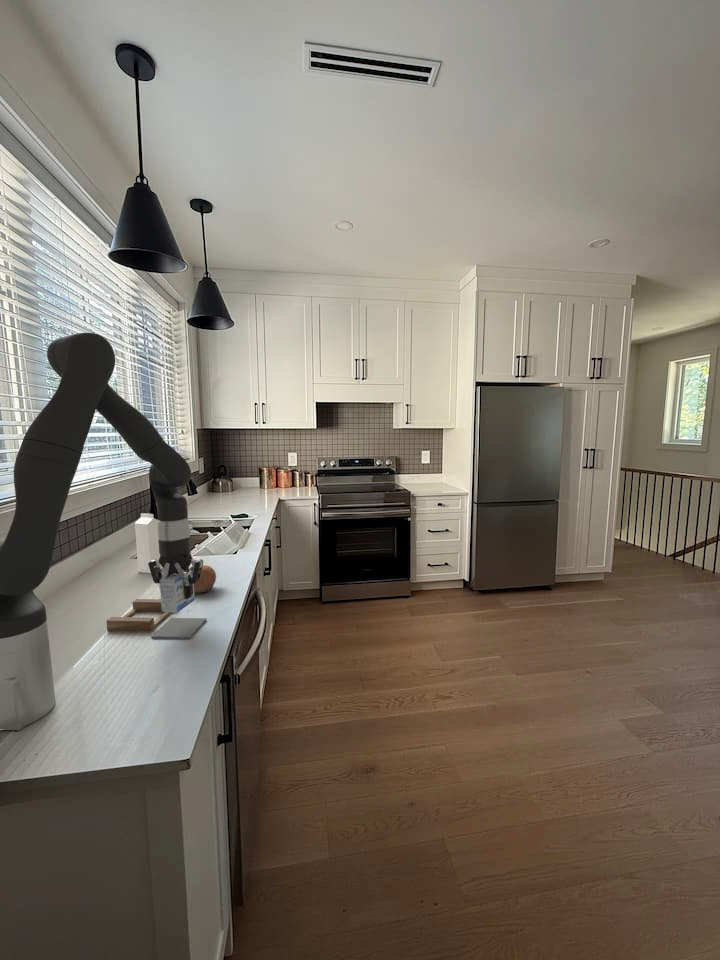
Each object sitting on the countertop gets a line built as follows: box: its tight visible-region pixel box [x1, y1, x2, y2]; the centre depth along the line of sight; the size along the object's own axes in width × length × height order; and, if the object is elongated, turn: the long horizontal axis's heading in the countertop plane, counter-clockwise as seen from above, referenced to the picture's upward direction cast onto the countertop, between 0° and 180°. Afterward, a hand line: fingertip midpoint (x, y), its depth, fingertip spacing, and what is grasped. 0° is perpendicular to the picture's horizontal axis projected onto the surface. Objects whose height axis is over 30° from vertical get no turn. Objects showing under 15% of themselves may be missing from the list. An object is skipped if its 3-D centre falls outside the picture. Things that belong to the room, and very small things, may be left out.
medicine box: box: [159, 571, 196, 614], centre depth 104 cm, size 8×4×9 cm, turn 169°
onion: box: [189, 564, 217, 594], centre depth 130 cm, size 10×9×10 cm
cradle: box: [106, 598, 172, 633], centre depth 110 cm, size 13×12×3 cm
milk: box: [134, 512, 164, 574], centre depth 149 cm, size 6×6×22 cm
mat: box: [150, 617, 207, 640], centre depth 105 cm, size 10×10×1 cm
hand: (178, 597), depth 104 cm, fingers closed on medicine box, 5 cm apart
